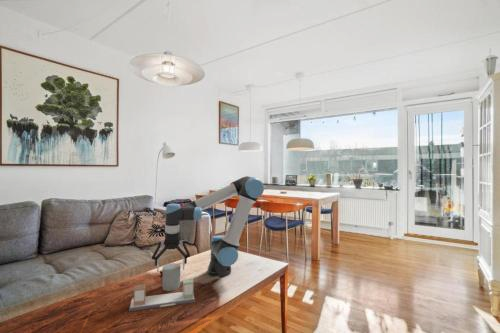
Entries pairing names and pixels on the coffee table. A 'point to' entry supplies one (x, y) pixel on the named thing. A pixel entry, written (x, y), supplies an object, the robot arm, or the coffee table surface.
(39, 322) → the coffee table surface
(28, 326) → the coffee table surface
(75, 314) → the coffee table surface
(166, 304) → the shelf board
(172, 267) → the beer can
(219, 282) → the coffee table surface
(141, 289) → the clay box
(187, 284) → the sage box
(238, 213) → the robot arm
